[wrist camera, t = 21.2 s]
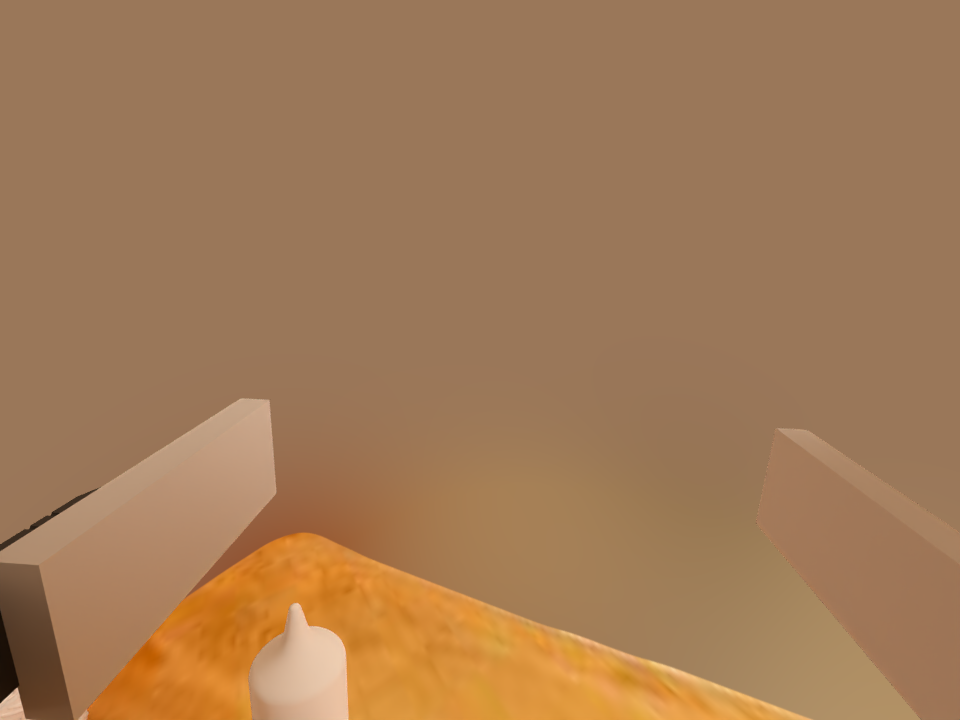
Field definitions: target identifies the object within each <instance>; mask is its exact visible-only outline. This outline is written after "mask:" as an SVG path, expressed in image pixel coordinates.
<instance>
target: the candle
mask: <svg viewBox="0 0 960 720" xmlns="http://www.w3.org/2000/svg"><path fill="white" fill-rule="evenodd" d="M249 690H250V700H251V709H252V719H253V720H348V696H347V671H346V652H345V648H344V645H343V643H342V641H341V639H340V638H339V637H338V636H337V635H336V634H335V633H333V632H332V631H330V630H328V629H325V628H322V627H316V626H308V624H307V622H306V619H305V616H304V614H303V611H302V608H301V606H300V604H298V603H294V604H292V605H291V606H290V607H289V611H288V616H287V621H286V626H285V631H284V633H282V634H280V635H278V636H277V637H275V638H274V639H272V640H271V641H270V642H268V643H267V644H266V645H265V646H264V647H263V648H262V649H261V651H260V652H259V653H258V654H257V656H256V657H255V659H254V661H253V663H252V665H251V668H250V673H249Z"/></svg>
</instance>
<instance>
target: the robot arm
mask: <svg viewBox="0 0 960 720" xmlns="http://www.w3.org/2000/svg"><path fill="white" fill-rule="evenodd" d="M275 494H276V480H275V468H274V455H273V442H272V430H271V416H270V403H269V400H261V399H243V398H241V399H239V400H238V401H236V402H235V403H233V404H231V405H230V406H228V407H227V408H225V409H224V410H222V411H220V412H219V413H217V414H216V415H214V416H213V417H211V418H209V419H208V420H206V421H205V422H203V423H202V424H200V425H198V426H197V427H195V428H194V429H192V430H191V431H189V432H187V433H186V434H184V435H183V436H181V437H179V438H178V439H176V440H175V441H173V442H172V443H170V444H168V445H167V446H165V447H164V448H162V449H161V450H159V451H157V452H156V453H154V454H153V455H151V456H150V457H148V458H146V459H145V460H143V461H142V462H140V463H139V464H137V465H135V466H134V467H132V468H131V469H129V470H128V471H126V472H124V473H123V474H121V475H120V476H118V477H116V478H115V479H113V480H112V481H110V482H109V483H107V484H106V485H104V486H102V487H100V488H98V489H95V490H92V491H90V492H88V493H85V494H83V495H80V496H78V497H76V498H74V499H73V500H71V501H69V502H68V503H66V504H65V505H63V506H61V507H60V508H58V509H57V510H55V511H53V512H52V514H51V516H45V517H44V518H42V519H40V520H39V521H37V522H36V523H34V524H32V525H31V526H30V529H29V530H26V529H25V530H23V531H21V532H20V533H18V534H16V535H15V536H13V537H11V538H10V539H8V540H7V541H5V542H3V543H2V544H0V703H1V702H2V701H3V700H4V699H5V698H7V697H8V696H9V695H10V694H11V693H12V692H13V691H14V690H15V689H16V688H18V692H19V695H20V699H21V703H22V707H23V711H24V715H25V718H26V719H32V720H78V719H79V718H80V717H81V715H82V714H83V713H84V712H85V711H86V710H87V709H88V707H89V706H90V705H91V704H92V703H93V702H94V701H95V700H96V698H97V697H98V696H99V695H100V694H101V693H102V692H103V690H104V689H105V688H106V687H107V686H108V685H109V684H110V682H111V681H112V680H113V679H114V678H115V677H116V676H117V674H118V673H119V672H120V671H121V670H122V669H123V668H124V666H125V665H126V664H127V663H128V662H129V661H130V660H131V658H132V657H133V656H134V655H135V654H136V653H137V652H138V650H139V649H140V648H141V647H142V646H143V645H144V644H145V642H146V641H147V640H148V639H149V638H150V637H151V636H152V634H153V633H154V632H155V631H156V630H157V629H158V628H159V626H160V625H161V624H162V623H163V622H164V621H165V620H166V618H167V617H168V616H169V615H170V614H171V613H172V612H173V610H174V609H175V608H176V607H177V606H178V605H179V604H180V603H181V601H182V600H183V599H184V598H185V597H186V596H187V595H188V593H189V592H190V591H191V590H192V589H193V588H194V587H195V585H196V584H197V583H198V582H199V581H200V580H201V579H202V577H203V576H204V575H205V574H206V573H207V572H208V570H209V569H210V568H211V567H212V566H213V565H214V564H215V562H216V561H217V560H218V559H219V558H220V557H221V556H222V555H223V553H224V552H225V551H226V550H227V549H228V548H229V547H230V545H231V544H232V543H233V542H234V541H235V540H236V538H237V537H238V536H239V535H240V534H241V533H242V532H243V530H244V529H245V528H246V527H247V526H248V525H249V524H250V522H251V521H252V520H253V519H254V518H255V517H256V516H257V515H258V513H259V512H260V511H261V510H262V509H263V508H264V507H265V505H266V504H267V503H268V502H269V501H270V500H271V499H272V498H273V496H274V495H275ZM756 524H757V525H758V527H759V528H760V529H761V530H762V531H763V533H764V534H765V535H766V536H767V537H768V539H769V540H770V541H771V542H772V543H773V544H774V546H775V547H776V548H777V549H778V550H779V552H780V553H781V554H782V555H783V556H784V558H785V559H786V560H787V561H788V562H789V563H790V565H791V566H792V567H793V568H794V569H795V571H796V572H797V573H798V574H799V575H800V577H802V579H803V580H804V581H805V582H806V583H807V585H808V586H809V587H810V588H811V590H812V591H813V592H814V593H815V594H816V595H817V597H818V598H819V599H820V600H821V601H822V603H823V604H824V605H825V606H826V607H827V608H828V610H829V611H830V612H831V613H832V614H833V616H834V617H835V618H836V619H837V620H838V622H839V623H840V624H841V625H842V626H843V627H844V629H845V630H846V631H847V632H848V633H849V635H850V636H851V637H852V638H853V639H854V641H855V642H856V643H857V644H858V645H859V647H860V648H861V649H862V650H863V651H864V652H865V654H866V655H867V656H868V657H869V658H870V660H871V661H872V662H873V663H874V664H875V666H876V667H877V668H878V669H879V670H880V671H881V673H882V674H883V675H884V676H885V677H886V679H887V680H888V681H889V682H890V683H891V685H892V686H893V687H894V688H895V689H896V690H897V692H898V693H899V694H900V695H901V696H902V698H903V699H904V700H905V701H906V702H907V704H908V705H909V706H910V707H911V708H912V709H913V710H914V712H915V713H916V714H917V715H918V717H919V718H920V719H921V720H960V532H958V531H957V530H955V529H954V528H952V527H951V526H949V525H948V524H946V523H945V522H943V521H942V520H940V519H939V518H937V517H936V516H935V515H933V514H932V513H930V512H929V511H927V510H925V509H924V508H923V507H921V506H920V505H918V504H917V503H915V502H914V501H912V500H911V499H909V498H908V497H906V496H905V495H903V494H902V493H900V492H899V491H897V490H896V489H894V488H893V487H891V486H890V485H888V484H887V483H885V482H884V481H882V480H880V479H879V478H878V477H876V476H875V475H873V474H872V473H870V472H869V471H867V470H866V469H864V468H863V467H862V466H860V465H859V464H857V463H856V462H854V461H853V460H851V459H850V458H848V457H847V456H845V455H844V454H842V453H841V452H839V451H838V450H836V449H835V448H833V447H832V446H830V445H829V444H827V443H826V442H824V441H823V440H821V439H820V438H818V437H817V436H815V435H814V434H812V433H811V432H809V431H808V430H802V429H785V428H784V429H783V428H776V430H775V434H774V439H773V444H772V448H771V454H770V458H769V463H768V468H767V472H766V477H765V482H764V487H763V491H762V497H761V501H760V506H759V511H758V515H757V520H756Z"/></svg>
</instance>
